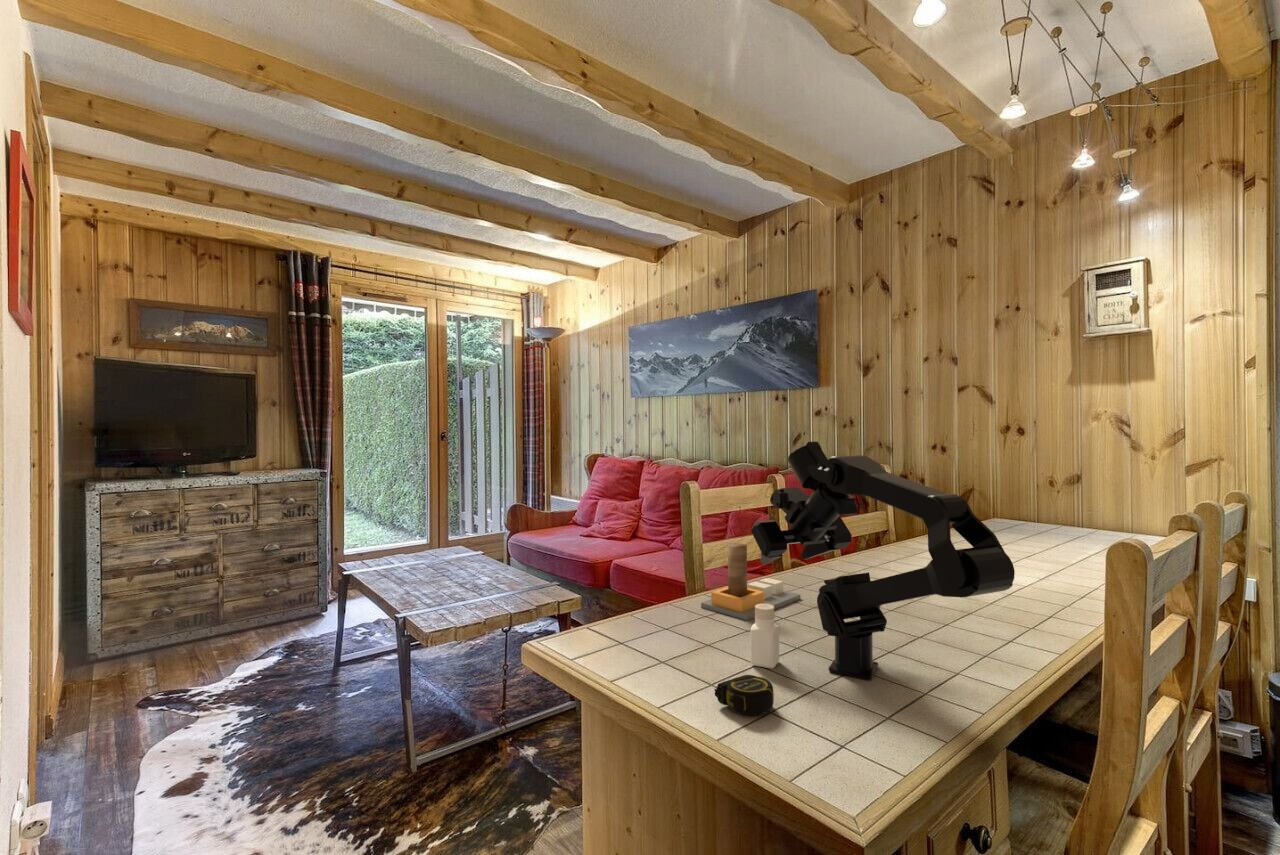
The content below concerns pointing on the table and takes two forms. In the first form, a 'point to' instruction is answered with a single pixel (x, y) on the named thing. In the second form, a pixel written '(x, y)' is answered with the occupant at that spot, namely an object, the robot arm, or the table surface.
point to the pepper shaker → (764, 637)
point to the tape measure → (746, 694)
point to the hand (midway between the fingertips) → (782, 560)
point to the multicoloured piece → (750, 599)
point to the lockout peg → (737, 569)
